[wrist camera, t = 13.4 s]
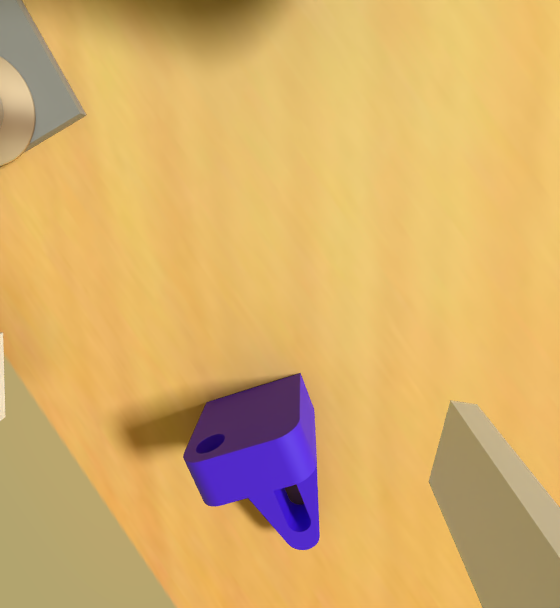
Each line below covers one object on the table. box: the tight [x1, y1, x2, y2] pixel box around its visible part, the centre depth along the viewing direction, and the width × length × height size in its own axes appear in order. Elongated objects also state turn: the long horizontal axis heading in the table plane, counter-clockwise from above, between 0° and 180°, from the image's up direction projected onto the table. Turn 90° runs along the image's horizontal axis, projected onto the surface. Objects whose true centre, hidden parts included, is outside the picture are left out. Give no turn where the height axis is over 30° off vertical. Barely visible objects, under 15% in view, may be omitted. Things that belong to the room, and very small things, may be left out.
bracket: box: [183, 373, 319, 550], centre depth 44 cm, size 18×11×12 cm, turn 20°
